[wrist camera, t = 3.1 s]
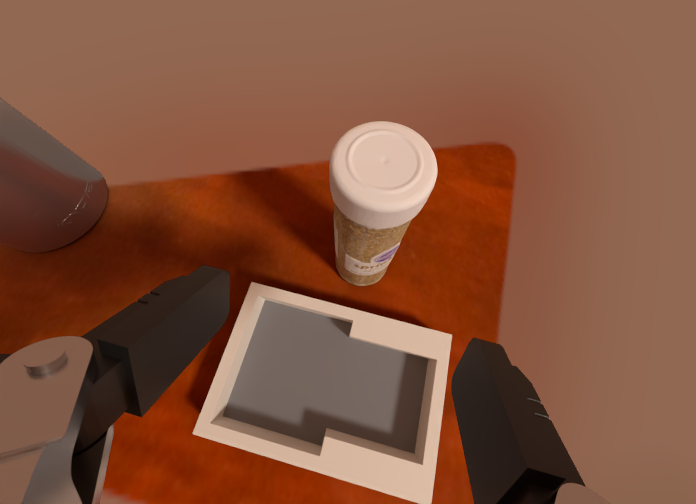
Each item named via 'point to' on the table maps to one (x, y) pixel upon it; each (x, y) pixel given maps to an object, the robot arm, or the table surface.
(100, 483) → the robot arm
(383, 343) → the shallow tray
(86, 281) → the table surface
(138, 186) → the table surface
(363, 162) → the sprinkles bottle
